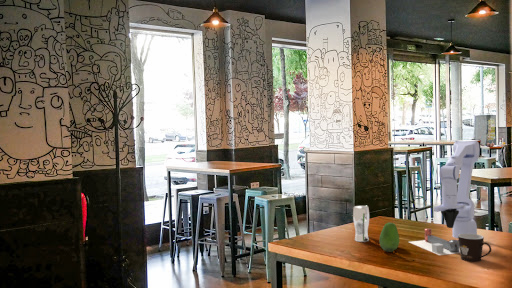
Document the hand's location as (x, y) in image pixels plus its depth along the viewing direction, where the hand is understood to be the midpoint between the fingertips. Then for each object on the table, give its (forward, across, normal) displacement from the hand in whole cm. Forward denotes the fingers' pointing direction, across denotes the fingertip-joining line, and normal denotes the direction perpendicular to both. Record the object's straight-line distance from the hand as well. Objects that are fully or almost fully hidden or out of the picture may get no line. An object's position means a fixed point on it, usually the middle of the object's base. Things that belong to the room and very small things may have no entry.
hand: (450, 227), depth 200 cm
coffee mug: (+8, +10, +22) cm, 25 cm away
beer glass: (+8, +25, -27) cm, 38 cm away
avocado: (+9, +25, -6) cm, 28 cm away
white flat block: (+8, +6, +1) cm, 10 cm away
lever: (+6, +6, +2) cm, 9 cm away
